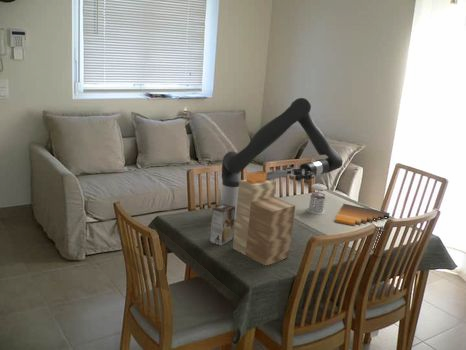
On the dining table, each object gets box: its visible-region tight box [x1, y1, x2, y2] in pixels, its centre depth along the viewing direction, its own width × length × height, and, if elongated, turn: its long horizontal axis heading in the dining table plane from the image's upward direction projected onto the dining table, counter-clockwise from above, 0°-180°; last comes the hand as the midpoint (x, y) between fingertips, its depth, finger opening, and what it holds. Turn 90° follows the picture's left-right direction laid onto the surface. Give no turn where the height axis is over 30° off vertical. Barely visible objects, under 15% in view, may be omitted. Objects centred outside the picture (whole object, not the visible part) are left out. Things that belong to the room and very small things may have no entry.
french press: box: [306, 177, 328, 215], centre depth 275 cm, size 10×12×25 cm
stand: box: [232, 178, 296, 267], centre depth 218 cm, size 14×20×31 cm
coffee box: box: [209, 204, 235, 246], centre depth 228 cm, size 9×6×16 cm
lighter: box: [373, 225, 385, 249], centre depth 239 cm, size 8×3×10 cm, turn 117°
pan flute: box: [335, 203, 391, 226], centre depth 273 cm, size 25×3×25 cm
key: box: [246, 169, 288, 184], centre depth 221 cm, size 22×4×4 cm, turn 133°
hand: (288, 176), depth 233 cm, fingers open, 8 cm apart
